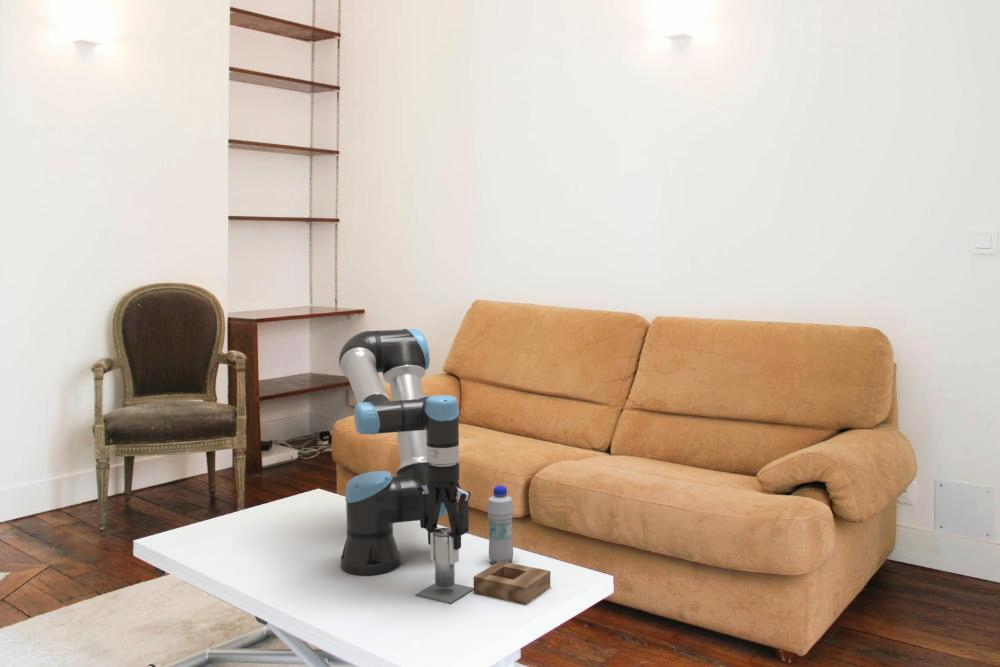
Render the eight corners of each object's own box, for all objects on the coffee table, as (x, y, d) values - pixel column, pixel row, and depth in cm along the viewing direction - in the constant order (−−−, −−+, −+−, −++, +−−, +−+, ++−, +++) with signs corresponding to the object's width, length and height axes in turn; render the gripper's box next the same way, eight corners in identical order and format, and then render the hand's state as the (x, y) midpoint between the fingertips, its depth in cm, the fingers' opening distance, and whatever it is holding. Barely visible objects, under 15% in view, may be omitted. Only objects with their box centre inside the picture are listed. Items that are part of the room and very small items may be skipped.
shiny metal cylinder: (431, 585, 214) (430, 531, 213) (442, 578, 218) (441, 526, 217) (447, 588, 212) (446, 535, 211) (458, 582, 216) (457, 529, 215)
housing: (473, 593, 215) (473, 576, 215) (499, 576, 225) (499, 560, 225) (525, 604, 208) (525, 587, 207) (550, 587, 218) (550, 570, 218)
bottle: (511, 567, 232) (510, 490, 229) (485, 565, 233) (484, 488, 231) (516, 558, 238) (515, 482, 236) (491, 556, 239) (490, 481, 237)
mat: (415, 595, 214) (415, 594, 214) (439, 581, 222) (439, 580, 222) (451, 604, 209) (451, 602, 209) (474, 589, 217) (474, 587, 217)
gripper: (402, 461, 214) (404, 558, 216) (466, 470, 205) (467, 572, 207) (421, 455, 220) (423, 549, 222) (484, 463, 211) (485, 561, 213)
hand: (444, 560), depth 215 cm, fingers closed on shiny metal cylinder, 5 cm apart
